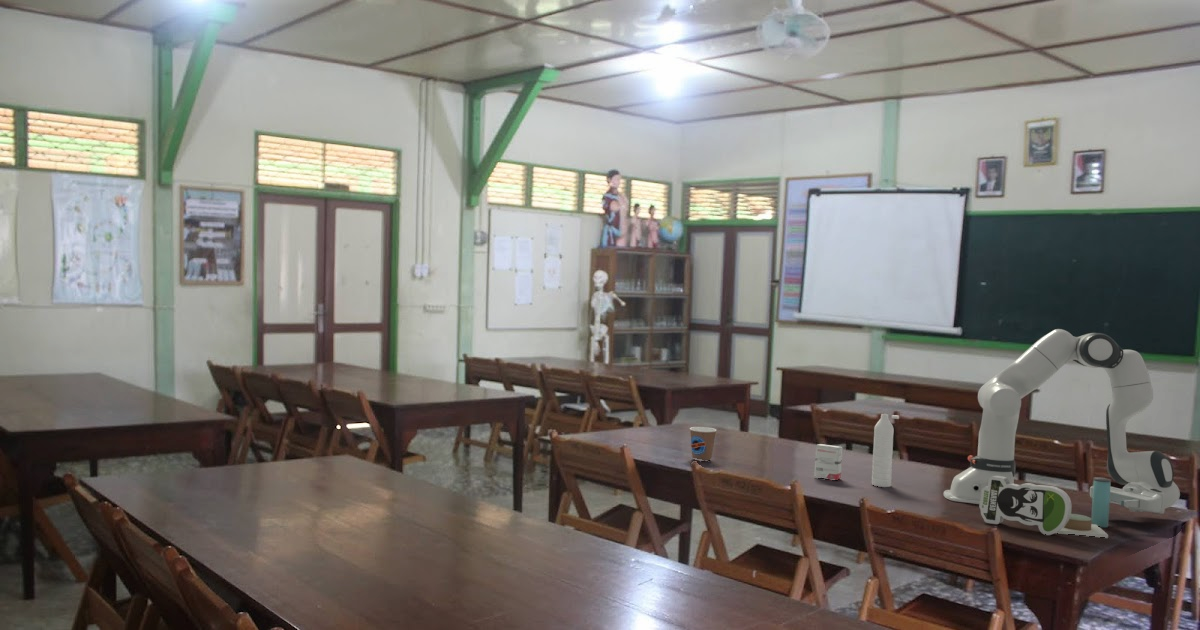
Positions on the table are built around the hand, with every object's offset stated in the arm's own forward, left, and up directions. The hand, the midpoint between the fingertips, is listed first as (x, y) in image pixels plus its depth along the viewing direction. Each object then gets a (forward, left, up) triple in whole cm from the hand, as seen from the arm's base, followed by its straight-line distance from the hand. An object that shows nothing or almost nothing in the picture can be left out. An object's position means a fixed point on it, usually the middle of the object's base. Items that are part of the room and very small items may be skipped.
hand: (1108, 499), depth 283 cm
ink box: (-82, +35, -8) cm, 89 cm away
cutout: (-27, -16, -8) cm, 32 cm away
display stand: (-12, -12, -7) cm, 19 cm away
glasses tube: (-3, -2, -7) cm, 8 cm away
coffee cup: (-129, +51, -8) cm, 139 cm away
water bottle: (-63, +30, -8) cm, 70 cm away
